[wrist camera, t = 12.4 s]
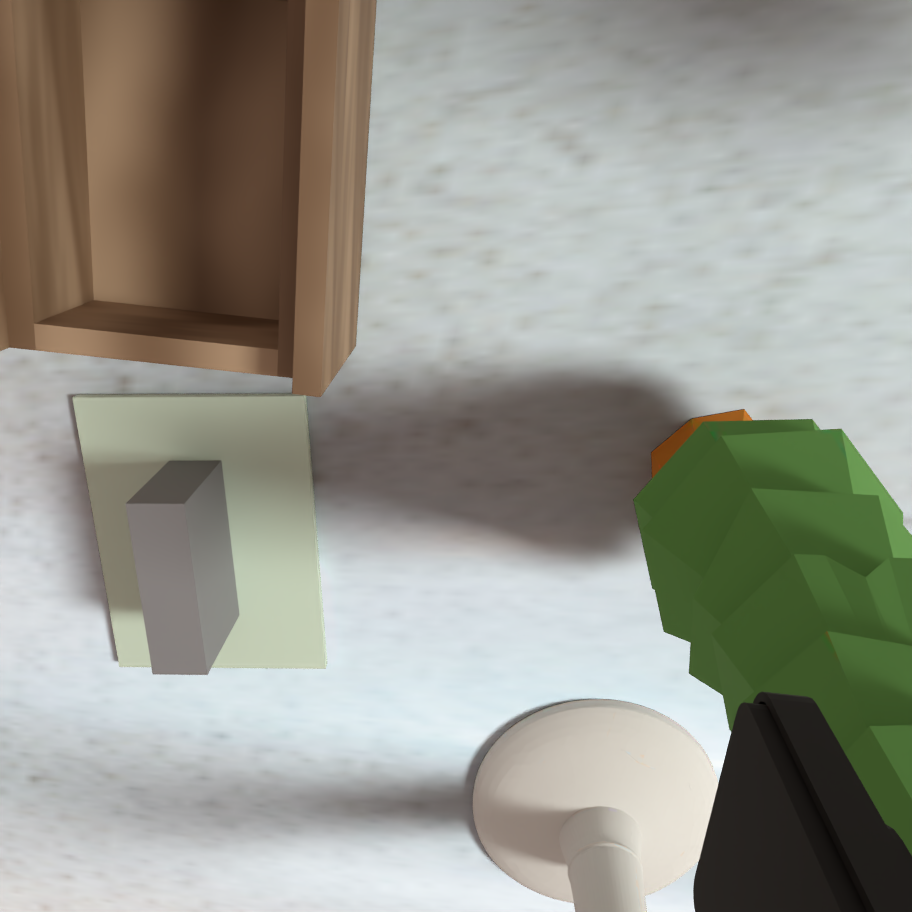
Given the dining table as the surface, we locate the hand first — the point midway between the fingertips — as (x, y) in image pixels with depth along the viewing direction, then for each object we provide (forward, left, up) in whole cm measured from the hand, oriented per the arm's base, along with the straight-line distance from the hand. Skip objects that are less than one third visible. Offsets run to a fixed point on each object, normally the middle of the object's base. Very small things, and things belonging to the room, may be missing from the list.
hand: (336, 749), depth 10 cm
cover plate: (+10, +12, -29) cm, 33 cm away
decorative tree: (-13, +6, -28) cm, 32 cm away
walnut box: (+11, -5, -28) cm, 31 cm away
